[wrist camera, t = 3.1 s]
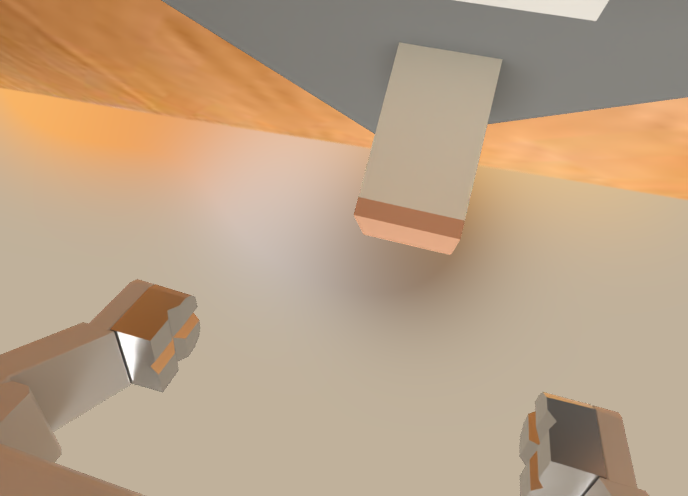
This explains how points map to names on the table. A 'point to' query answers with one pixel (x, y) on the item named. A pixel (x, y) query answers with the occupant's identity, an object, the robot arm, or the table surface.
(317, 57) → the mat
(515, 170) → the table surface
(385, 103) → the block
